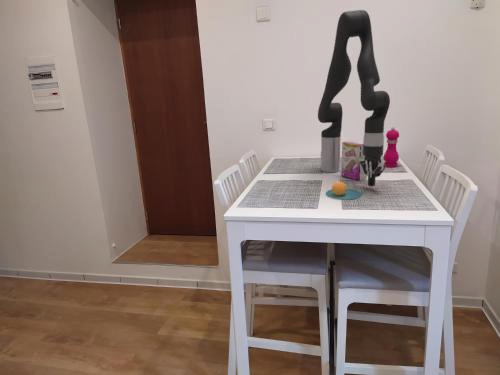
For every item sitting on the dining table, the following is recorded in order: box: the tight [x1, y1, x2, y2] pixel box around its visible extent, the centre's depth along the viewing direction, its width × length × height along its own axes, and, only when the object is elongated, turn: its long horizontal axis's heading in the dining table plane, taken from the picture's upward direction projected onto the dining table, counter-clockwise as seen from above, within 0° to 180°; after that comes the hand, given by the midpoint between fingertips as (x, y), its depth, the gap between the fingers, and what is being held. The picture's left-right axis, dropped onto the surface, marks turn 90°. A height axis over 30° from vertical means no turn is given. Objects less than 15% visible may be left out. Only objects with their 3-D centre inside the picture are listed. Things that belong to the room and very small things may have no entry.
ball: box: [331, 181, 347, 196], centre depth 132 cm, size 6×6×6 cm
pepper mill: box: [382, 126, 400, 169], centre depth 169 cm, size 7×7×20 cm
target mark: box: [325, 187, 363, 201], centre depth 134 cm, size 14×14×1 cm
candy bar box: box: [341, 140, 368, 182], centre depth 153 cm, size 11×5×16 cm, turn 31°
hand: (371, 185), depth 137 cm, fingers closed
